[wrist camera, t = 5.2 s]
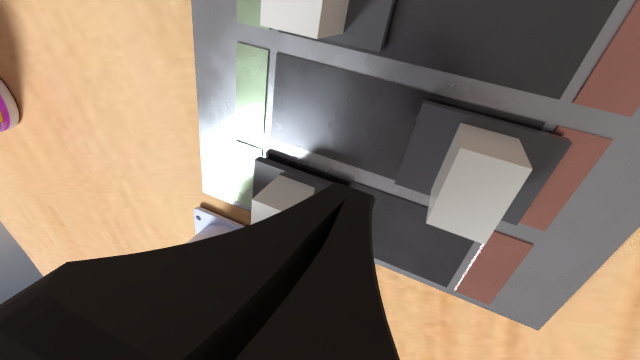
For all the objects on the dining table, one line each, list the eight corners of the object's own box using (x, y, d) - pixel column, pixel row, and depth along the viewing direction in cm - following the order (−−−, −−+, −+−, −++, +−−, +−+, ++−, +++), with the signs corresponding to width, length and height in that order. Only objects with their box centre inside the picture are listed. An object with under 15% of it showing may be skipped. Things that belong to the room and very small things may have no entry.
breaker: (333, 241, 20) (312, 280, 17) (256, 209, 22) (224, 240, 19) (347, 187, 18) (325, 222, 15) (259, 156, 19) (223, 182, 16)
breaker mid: (514, 218, 15) (527, 269, 12) (396, 178, 16) (382, 215, 13) (568, 138, 13) (600, 176, 10) (424, 99, 14) (414, 123, 11)
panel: (533, 310, 19) (538, 332, 18) (215, 183, 25) (202, 193, 23) (846, -39, 9) (908, -47, 8) (205, -114, 15) (181, -126, 14)
